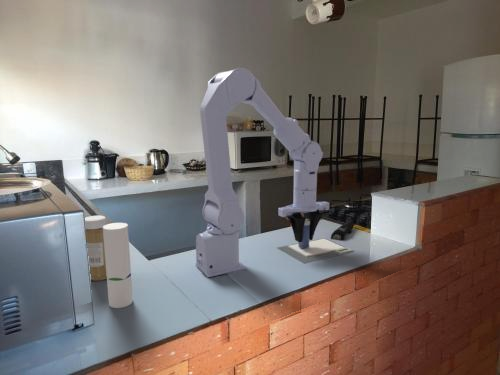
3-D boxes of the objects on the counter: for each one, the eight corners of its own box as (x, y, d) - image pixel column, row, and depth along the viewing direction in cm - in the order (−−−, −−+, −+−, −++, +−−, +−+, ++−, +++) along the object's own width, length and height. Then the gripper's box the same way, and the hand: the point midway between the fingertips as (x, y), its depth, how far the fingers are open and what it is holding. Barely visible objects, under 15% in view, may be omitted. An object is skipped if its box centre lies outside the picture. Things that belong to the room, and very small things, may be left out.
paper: (306, 256, 94) (306, 255, 94) (288, 246, 101) (288, 245, 101) (344, 248, 100) (344, 247, 100) (324, 239, 107) (324, 238, 106)
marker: (302, 248, 98) (303, 222, 96) (295, 245, 100) (296, 219, 99) (311, 247, 99) (312, 220, 98) (305, 243, 101) (305, 218, 100)
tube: (105, 302, 73) (98, 225, 70) (126, 294, 76) (120, 221, 73) (115, 310, 70) (109, 231, 67) (137, 302, 73) (132, 225, 70)
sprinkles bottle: (114, 274, 85) (110, 215, 83) (101, 282, 81) (96, 221, 78) (97, 271, 87) (92, 214, 84) (83, 280, 82) (77, 219, 80)
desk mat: (303, 264, 90) (303, 263, 90) (276, 249, 100) (276, 247, 100) (355, 252, 98) (355, 251, 98) (324, 239, 108) (324, 238, 108)
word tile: (340, 253, 96) (340, 252, 96) (333, 250, 98) (333, 249, 98) (352, 251, 98) (352, 249, 98) (345, 248, 100) (345, 246, 100)
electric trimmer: (357, 229, 119) (357, 219, 118) (342, 243, 106) (343, 232, 105) (345, 227, 121) (345, 218, 120) (329, 241, 107) (329, 230, 107)
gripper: (290, 194, 90) (289, 249, 92) (338, 188, 97) (335, 239, 99) (274, 189, 96) (273, 241, 98) (320, 183, 103) (318, 232, 105)
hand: (303, 240), depth 99 cm, fingers closed on marker, 3 cm apart
